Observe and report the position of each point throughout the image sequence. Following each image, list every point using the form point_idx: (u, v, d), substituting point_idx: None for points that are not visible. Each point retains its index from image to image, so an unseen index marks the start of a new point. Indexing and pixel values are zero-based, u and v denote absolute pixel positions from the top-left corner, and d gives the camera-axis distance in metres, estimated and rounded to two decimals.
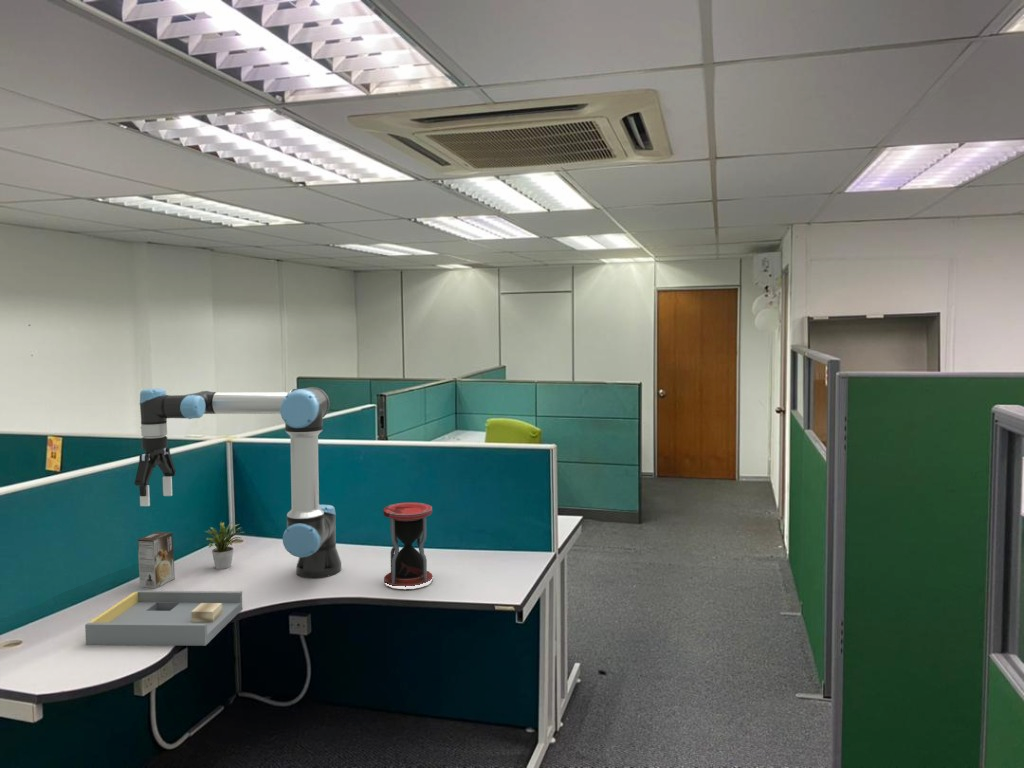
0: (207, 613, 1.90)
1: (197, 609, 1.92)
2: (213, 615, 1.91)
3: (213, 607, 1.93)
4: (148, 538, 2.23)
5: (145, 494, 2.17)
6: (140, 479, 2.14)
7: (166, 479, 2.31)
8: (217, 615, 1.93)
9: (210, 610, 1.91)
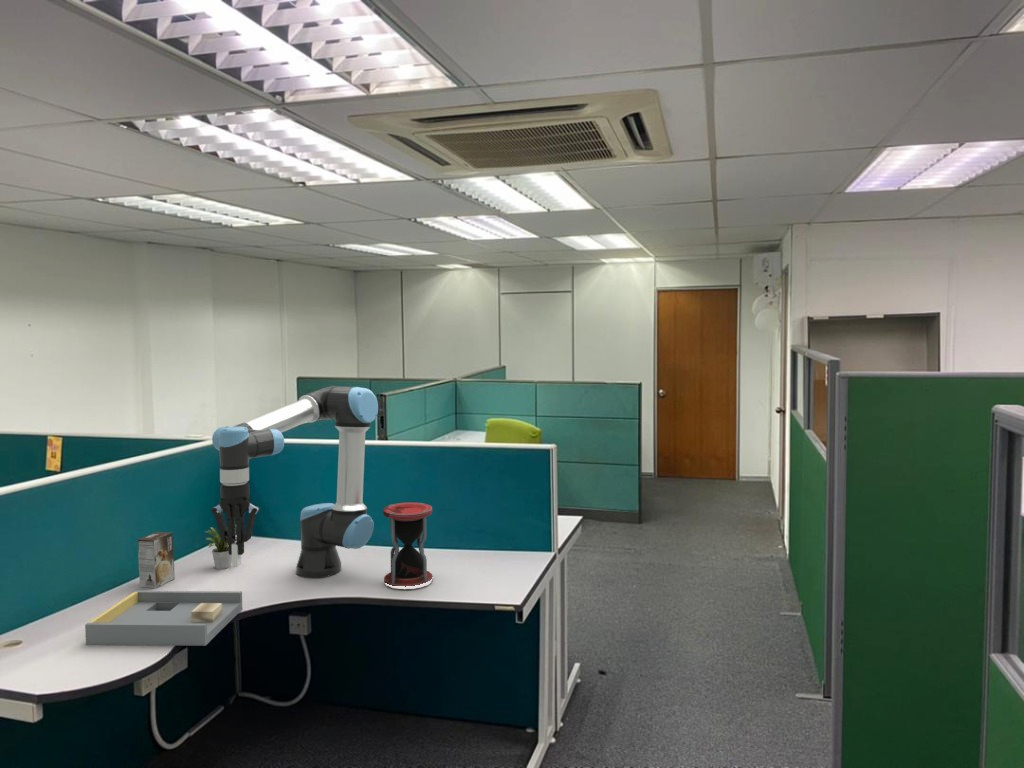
0: (207, 613, 1.90)
1: (197, 609, 1.92)
2: (213, 615, 1.91)
3: (213, 607, 1.93)
4: (148, 538, 2.23)
5: (231, 553, 1.91)
6: None
7: None
8: (217, 615, 1.93)
9: (210, 610, 1.91)
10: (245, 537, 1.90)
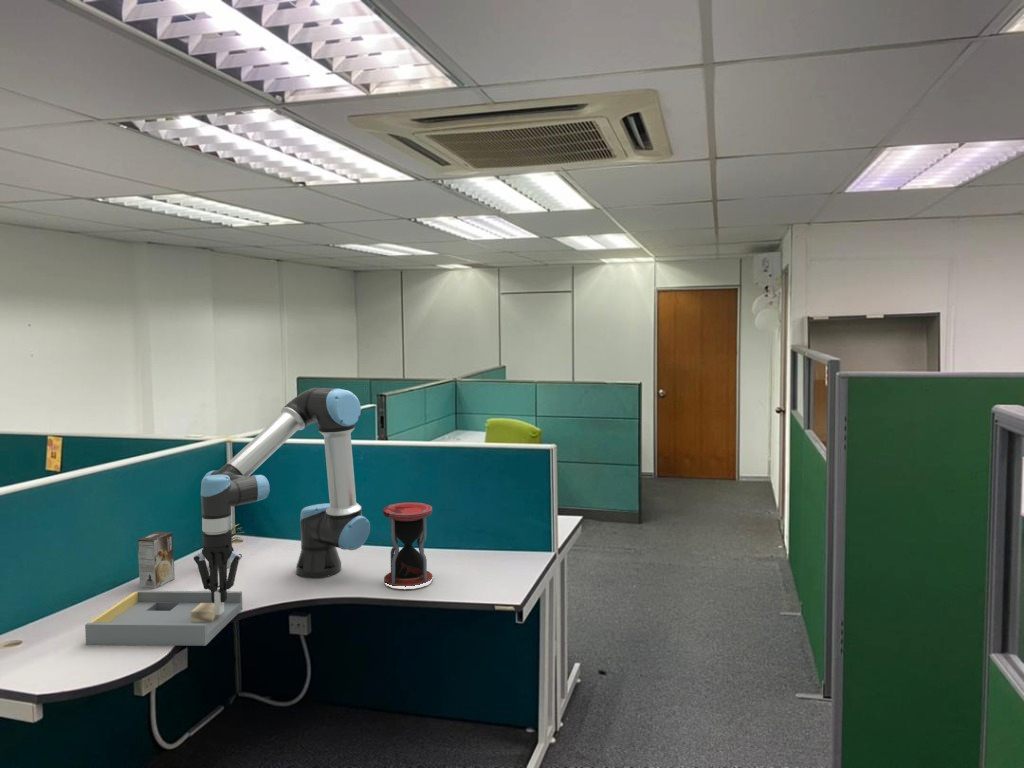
0: (206, 613, 1.90)
1: (197, 609, 1.92)
2: (213, 615, 1.91)
3: (213, 607, 1.93)
4: (148, 538, 2.23)
5: (213, 600, 1.92)
6: None
7: None
8: (217, 615, 1.93)
9: (210, 610, 1.91)
10: (228, 585, 1.92)
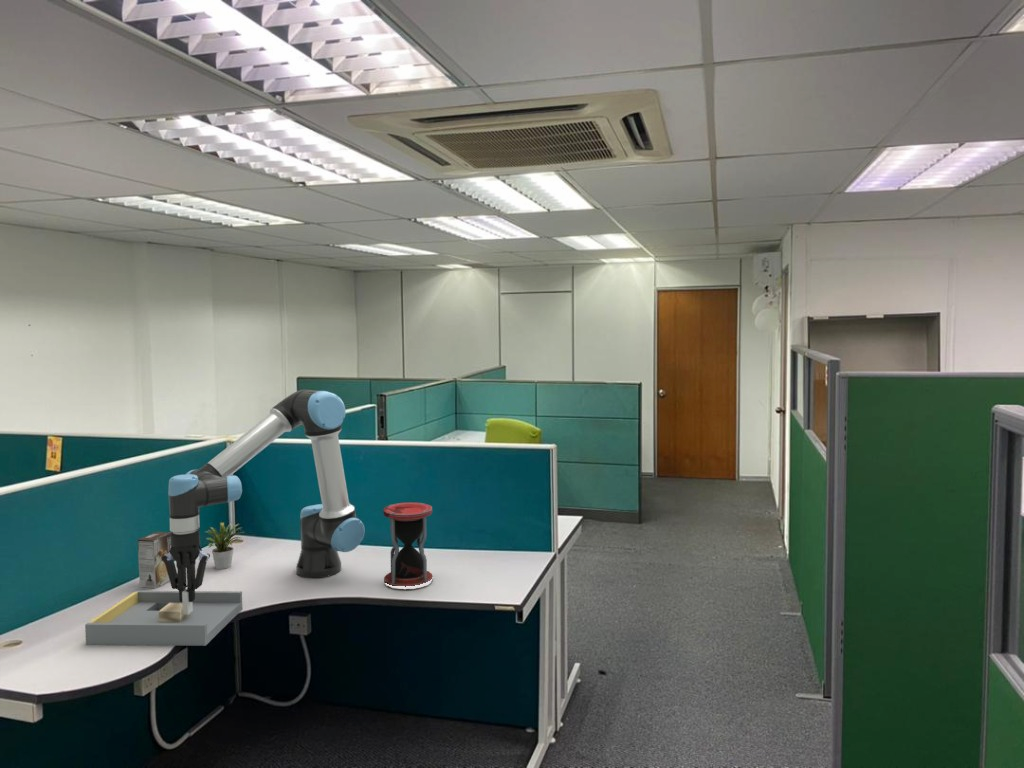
0: (174, 612, 1.90)
1: (164, 609, 1.92)
2: (181, 615, 1.91)
3: (181, 607, 1.93)
4: (148, 538, 2.23)
5: (181, 600, 1.92)
6: None
7: None
8: (185, 615, 1.93)
9: (178, 610, 1.91)
10: (195, 584, 1.92)
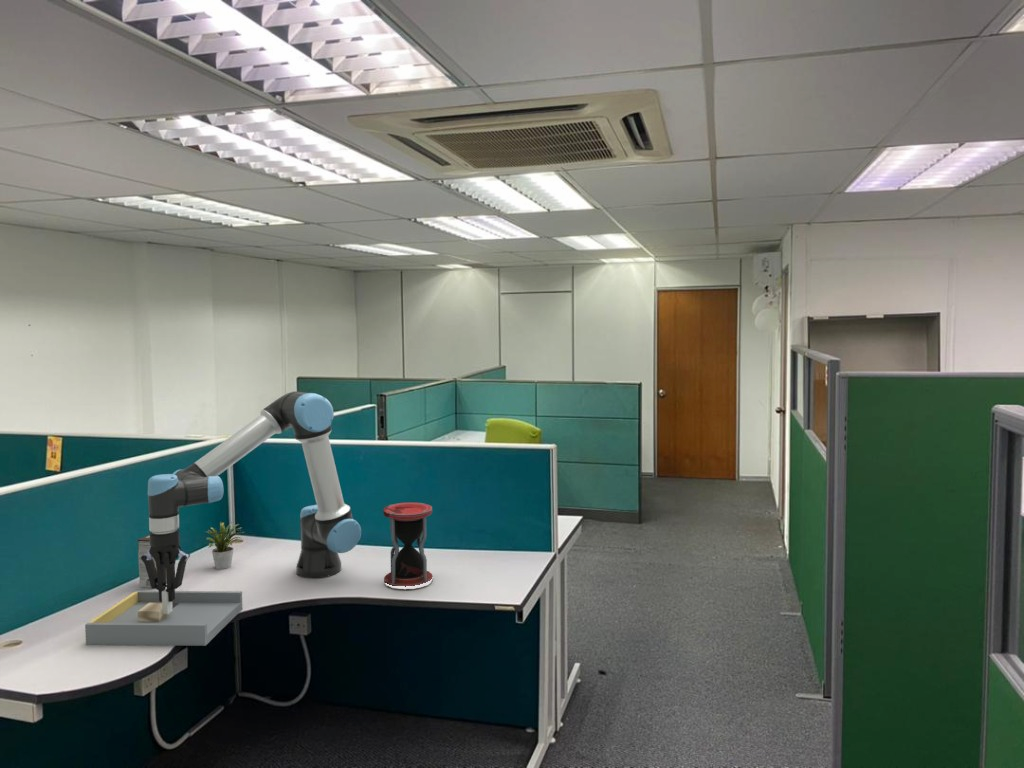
0: (153, 612, 1.90)
1: (144, 609, 1.92)
2: (160, 614, 1.91)
3: (160, 607, 1.93)
4: (148, 538, 2.23)
5: (161, 600, 1.93)
6: None
7: None
8: (164, 615, 1.94)
9: (157, 610, 1.91)
10: (175, 584, 1.92)
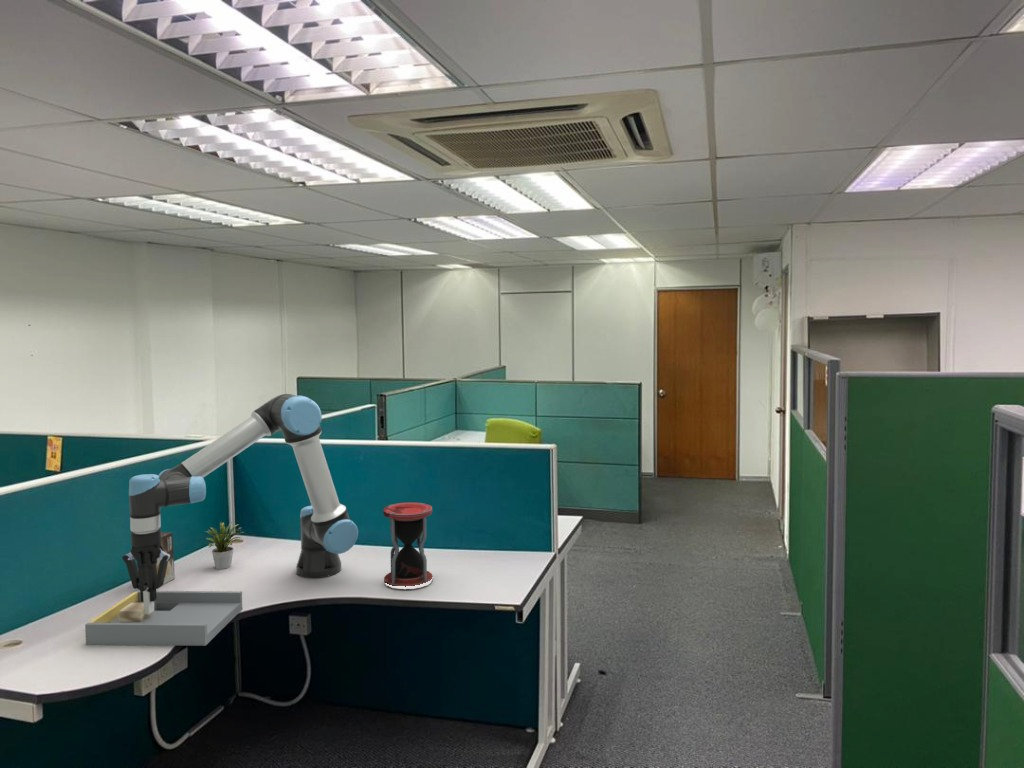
0: (135, 612, 1.91)
1: (125, 609, 1.92)
2: (141, 614, 1.91)
3: (142, 607, 1.93)
4: None
5: (143, 599, 1.93)
6: None
7: None
8: (146, 615, 1.94)
9: (138, 610, 1.91)
10: (156, 584, 1.92)
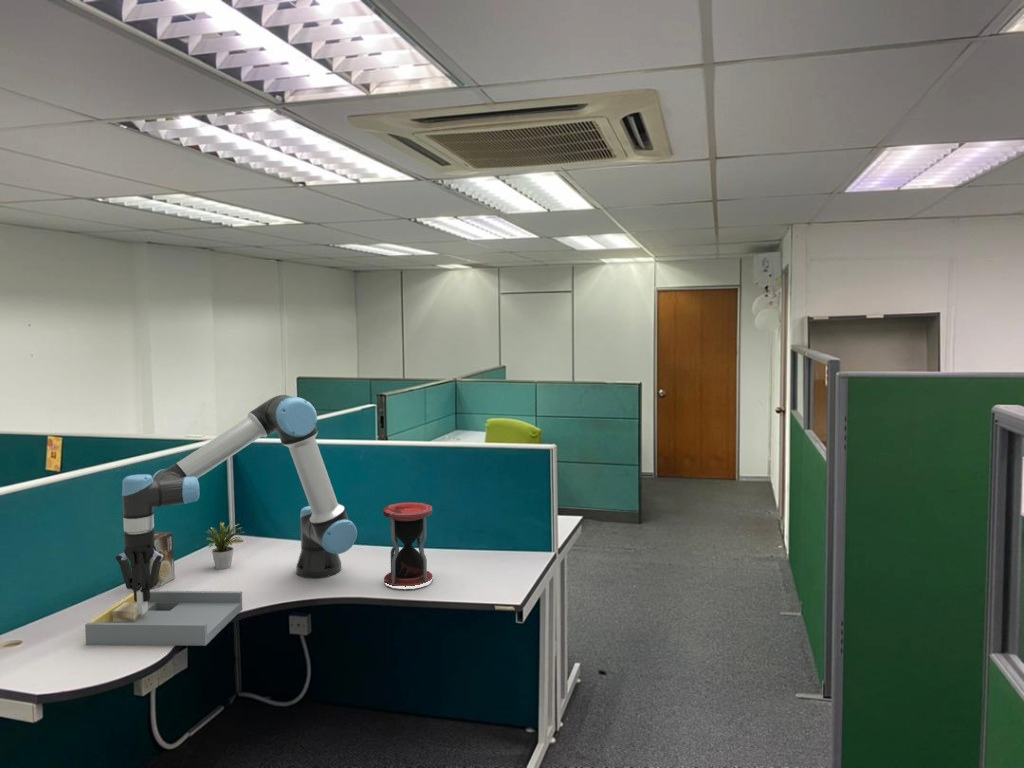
0: (128, 612, 1.91)
1: (119, 609, 1.92)
2: (135, 614, 1.91)
3: (135, 607, 1.93)
4: None
5: (136, 600, 1.93)
6: None
7: None
8: (139, 615, 1.94)
9: (132, 610, 1.91)
10: (150, 584, 1.92)
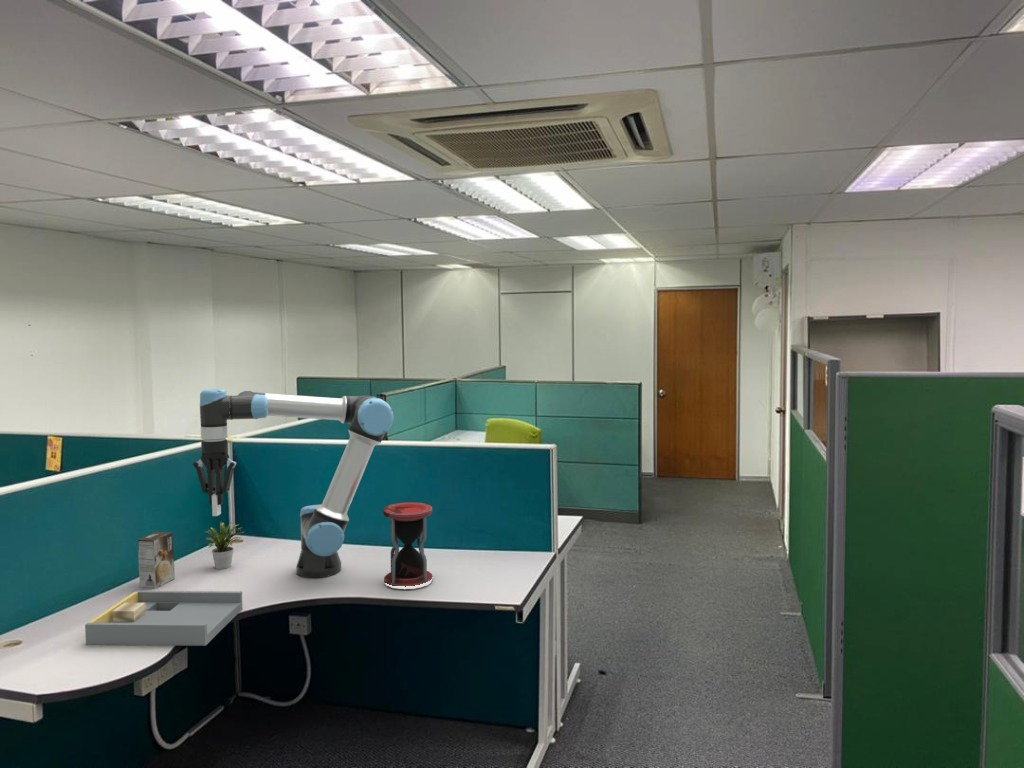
0: (128, 612, 1.91)
1: (119, 609, 1.92)
2: (135, 614, 1.91)
3: (135, 607, 1.93)
4: (148, 538, 2.23)
5: (211, 503, 2.12)
6: None
7: None
8: (139, 615, 1.94)
9: (132, 610, 1.91)
10: (224, 488, 2.11)
